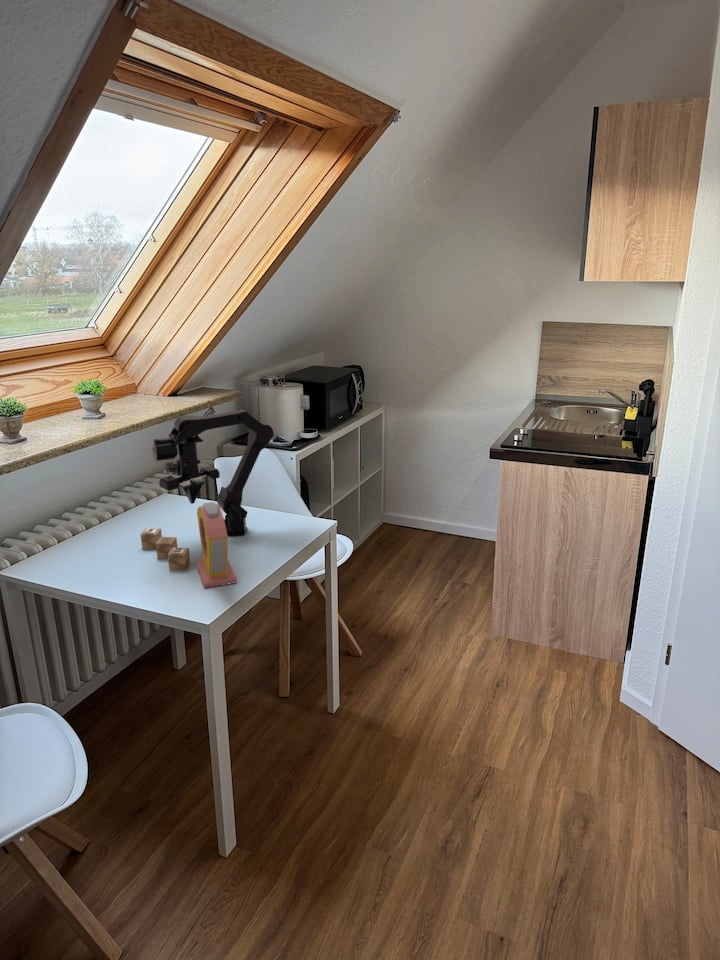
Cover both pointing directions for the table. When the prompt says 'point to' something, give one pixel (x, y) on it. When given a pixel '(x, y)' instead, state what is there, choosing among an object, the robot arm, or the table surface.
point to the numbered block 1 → (150, 537)
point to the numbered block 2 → (178, 558)
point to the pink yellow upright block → (213, 547)
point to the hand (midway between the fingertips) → (192, 503)
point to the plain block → (165, 546)
